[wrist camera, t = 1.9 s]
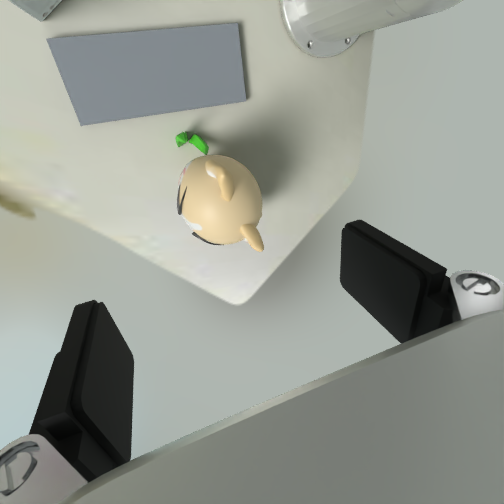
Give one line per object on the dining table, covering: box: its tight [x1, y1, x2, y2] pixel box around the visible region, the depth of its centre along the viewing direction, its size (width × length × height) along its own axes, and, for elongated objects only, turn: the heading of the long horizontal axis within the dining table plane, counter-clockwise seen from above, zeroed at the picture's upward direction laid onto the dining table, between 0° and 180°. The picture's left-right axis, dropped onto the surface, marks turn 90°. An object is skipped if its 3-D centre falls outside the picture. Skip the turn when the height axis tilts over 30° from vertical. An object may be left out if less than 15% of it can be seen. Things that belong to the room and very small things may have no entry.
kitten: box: [176, 132, 264, 252], centre depth 34 cm, size 15×10×15 cm, turn 24°
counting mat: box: [47, 23, 246, 126], centre depth 32 cm, size 20×8×1 cm, turn 97°
